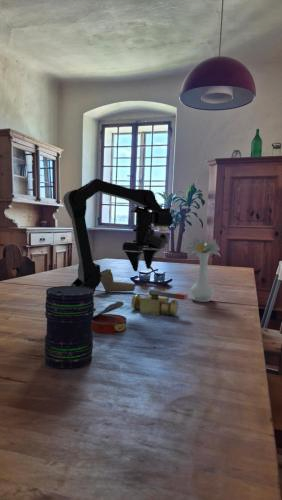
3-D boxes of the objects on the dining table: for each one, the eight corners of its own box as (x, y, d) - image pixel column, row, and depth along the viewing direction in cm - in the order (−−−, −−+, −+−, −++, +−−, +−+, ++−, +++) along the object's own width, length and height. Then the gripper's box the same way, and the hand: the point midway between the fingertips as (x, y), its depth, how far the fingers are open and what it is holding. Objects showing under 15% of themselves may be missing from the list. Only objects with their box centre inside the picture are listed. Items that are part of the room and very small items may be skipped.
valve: (170, 318, 107) (171, 300, 107) (129, 310, 115) (130, 294, 114) (179, 313, 113) (179, 296, 113) (139, 306, 121) (140, 291, 120)
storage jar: (72, 348, 78) (73, 284, 77) (102, 360, 72) (104, 290, 71) (34, 360, 70) (35, 289, 69) (64, 375, 64) (66, 297, 63)
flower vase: (212, 295, 145) (215, 237, 144) (222, 305, 127) (225, 239, 125) (181, 294, 146) (184, 236, 144) (187, 304, 127) (190, 237, 125)
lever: (146, 295, 113) (147, 290, 113) (152, 293, 116) (152, 288, 116) (183, 300, 107) (184, 295, 107) (188, 298, 110) (188, 293, 110)
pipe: (136, 294, 143) (137, 270, 143) (97, 293, 141) (97, 269, 140) (134, 291, 150) (135, 268, 149) (96, 290, 147) (97, 268, 146)
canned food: (100, 351, 89) (83, 320, 87) (95, 335, 99) (80, 307, 96) (138, 331, 91) (123, 300, 88) (129, 317, 101) (116, 288, 98)
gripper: (151, 226, 108) (149, 275, 109) (175, 227, 124) (173, 269, 126) (122, 225, 114) (120, 271, 115) (148, 226, 130) (146, 266, 131)
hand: (142, 269), depth 121 cm, fingers open, 9 cm apart
